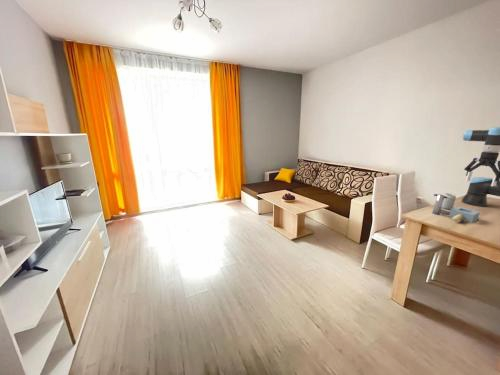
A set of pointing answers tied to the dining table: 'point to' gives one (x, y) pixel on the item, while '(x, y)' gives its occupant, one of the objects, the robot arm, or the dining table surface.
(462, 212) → the block
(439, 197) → the silver tall rounded piece
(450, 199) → the can
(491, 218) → the dining table surface
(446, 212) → the mat
